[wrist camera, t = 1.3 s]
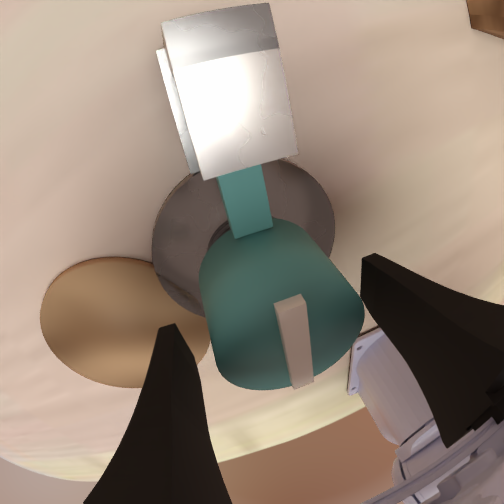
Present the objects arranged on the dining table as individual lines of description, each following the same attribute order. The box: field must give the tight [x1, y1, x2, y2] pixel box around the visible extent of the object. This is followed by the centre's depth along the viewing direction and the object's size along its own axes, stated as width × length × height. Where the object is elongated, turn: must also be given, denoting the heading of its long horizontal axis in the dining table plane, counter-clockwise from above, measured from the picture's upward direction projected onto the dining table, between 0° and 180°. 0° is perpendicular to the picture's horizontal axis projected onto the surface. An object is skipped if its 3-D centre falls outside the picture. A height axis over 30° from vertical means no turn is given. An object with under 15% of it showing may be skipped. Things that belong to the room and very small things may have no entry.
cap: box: [199, 164, 365, 390], centre depth 10 cm, size 10×5×4 cm, turn 11°
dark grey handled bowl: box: [152, 3, 335, 318], centre depth 11 cm, size 14×9×6 cm, turn 11°
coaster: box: [40, 257, 210, 388], centre depth 15 cm, size 10×10×1 cm
